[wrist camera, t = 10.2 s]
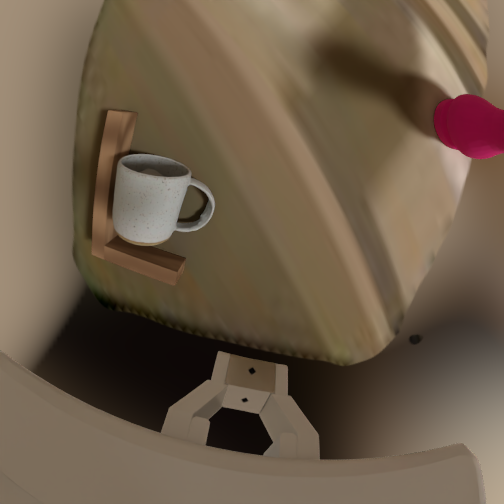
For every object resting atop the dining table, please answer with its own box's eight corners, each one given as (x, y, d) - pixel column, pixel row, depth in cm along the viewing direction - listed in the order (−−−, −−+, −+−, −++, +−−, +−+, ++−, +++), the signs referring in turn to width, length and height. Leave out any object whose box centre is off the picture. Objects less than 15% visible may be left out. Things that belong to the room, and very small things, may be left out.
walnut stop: (124, 110, 26) (108, 110, 23) (219, 130, 27) (212, 131, 24) (105, 243, 34) (91, 254, 31) (183, 271, 35) (174, 285, 32)
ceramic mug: (128, 213, 32) (96, 237, 25) (140, 150, 28) (105, 160, 21) (206, 238, 33) (189, 271, 26) (225, 174, 29) (211, 190, 22)
